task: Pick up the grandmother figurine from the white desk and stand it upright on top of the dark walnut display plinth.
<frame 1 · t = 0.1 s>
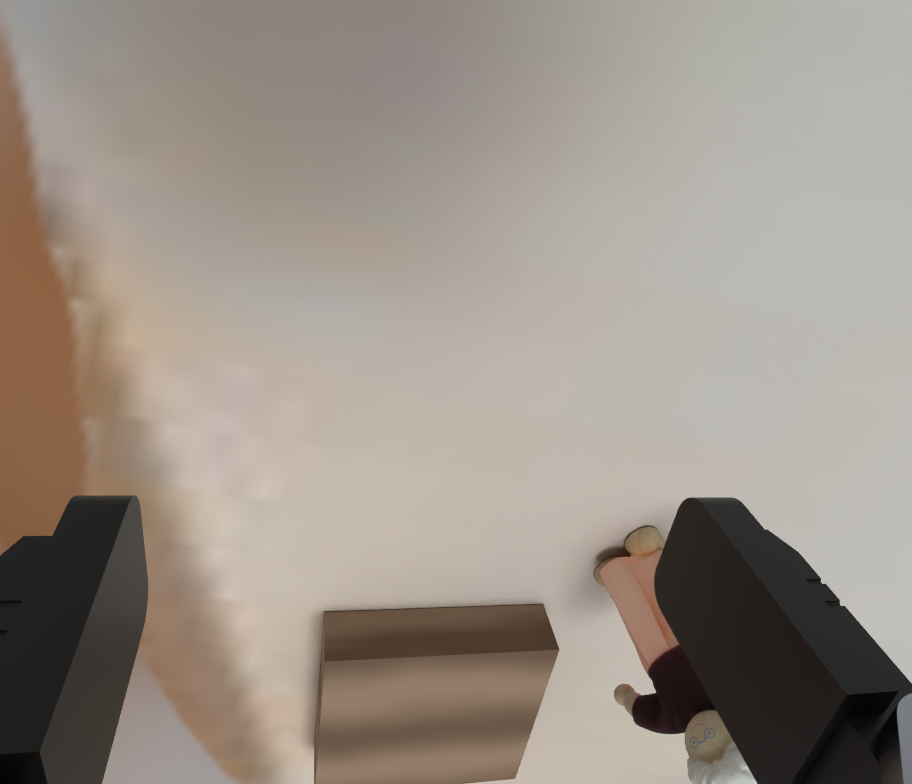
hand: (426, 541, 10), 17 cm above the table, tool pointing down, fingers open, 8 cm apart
grandmother figurine: (622, 561, 38), on the table
walnut plinth: (423, 678, 40), on the table
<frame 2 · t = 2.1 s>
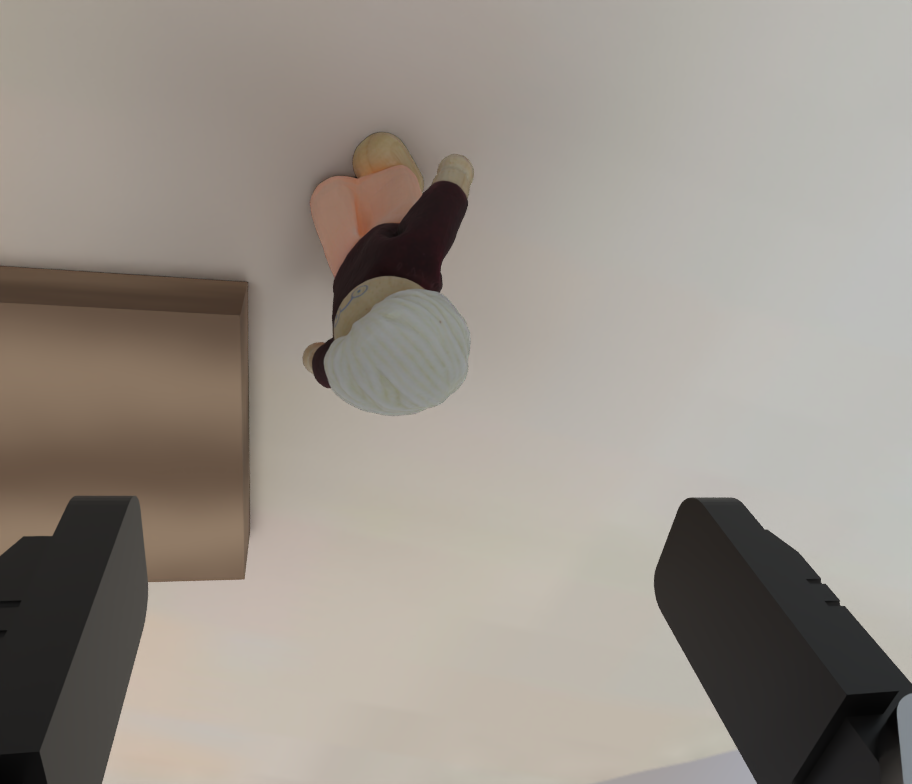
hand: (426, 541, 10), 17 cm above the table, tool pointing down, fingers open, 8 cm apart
grandmother figurine: (362, 209, 25), on the table
walnut plinth: (89, 415, 27), on the table
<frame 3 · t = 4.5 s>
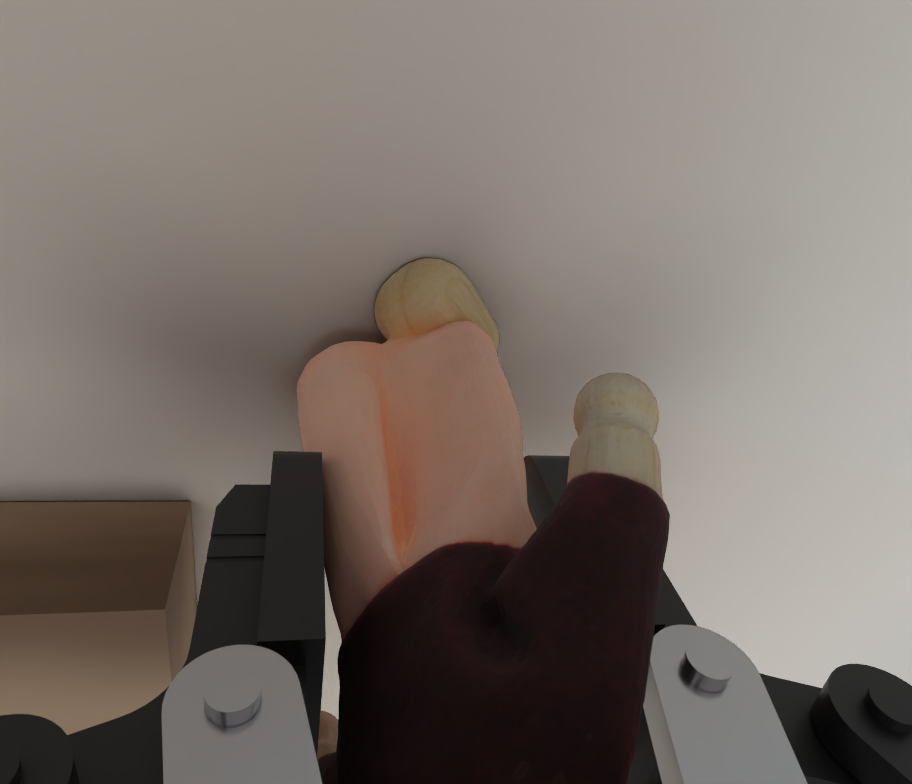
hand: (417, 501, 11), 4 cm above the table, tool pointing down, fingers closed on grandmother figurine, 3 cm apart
grandmother figurine: (389, 380, 14), on the table, touching gripper
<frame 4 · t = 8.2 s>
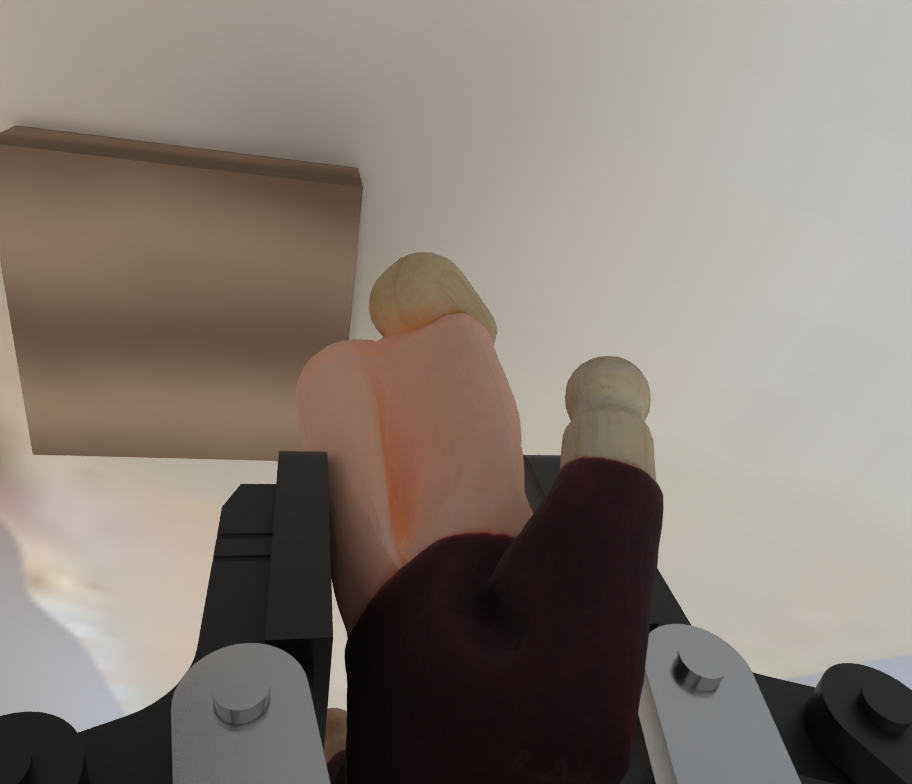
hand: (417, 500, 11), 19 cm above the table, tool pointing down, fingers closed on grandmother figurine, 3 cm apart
grandmother figurine: (389, 377, 14), point 15 cm above the table, touching gripper
walnut plinth: (199, 297, 28), on the table
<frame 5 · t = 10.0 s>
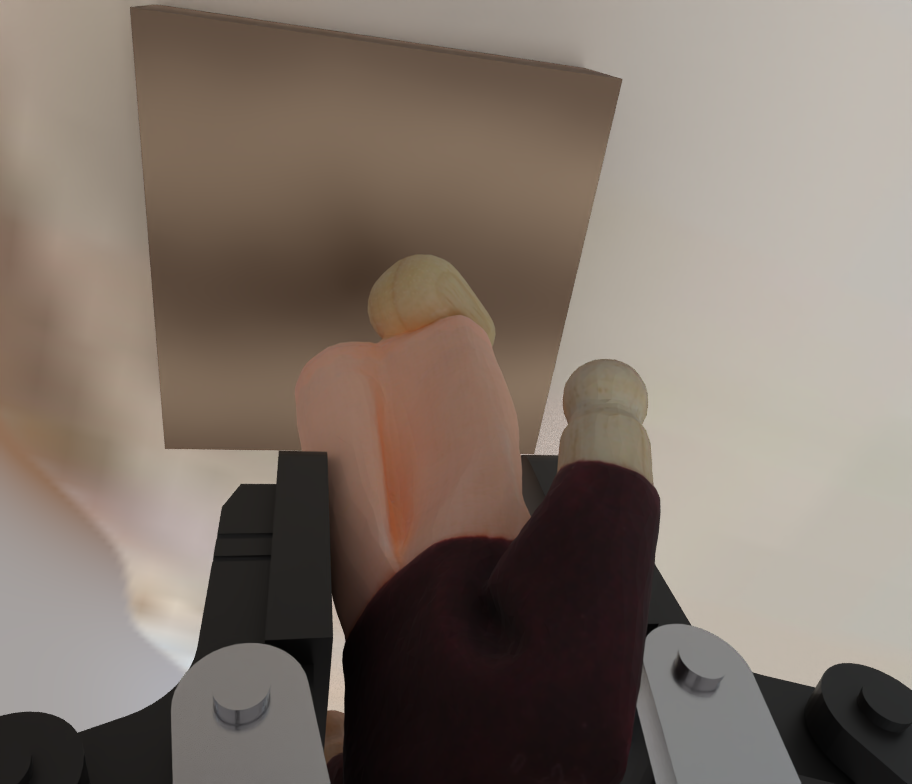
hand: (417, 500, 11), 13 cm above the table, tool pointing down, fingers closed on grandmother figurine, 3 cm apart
grandmother figurine: (388, 379, 14), point 9 cm above the table, touching gripper
walnut plinth: (368, 245, 22), on the table
when the fingers open (8 cm above the table, at t = 11.7 s): grandmother figurine stays where it is, resting on walnut plinth.
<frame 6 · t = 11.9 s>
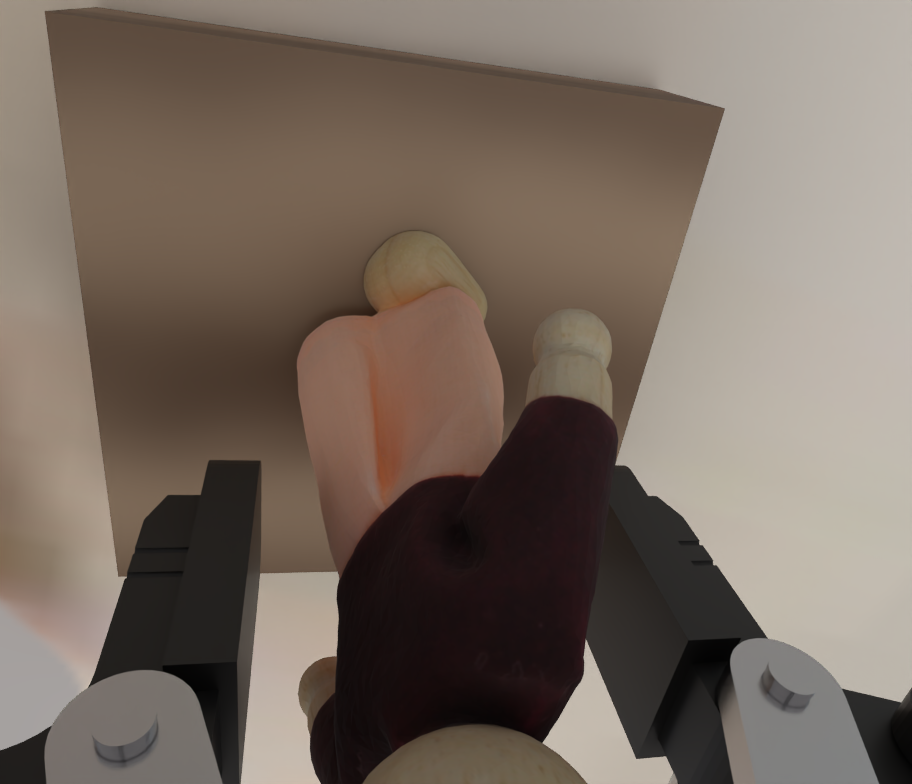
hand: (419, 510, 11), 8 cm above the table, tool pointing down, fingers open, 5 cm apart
grandmother figurine: (387, 353, 15), point 3 cm above the table, touching walnut plinth
walnut plinth: (379, 311, 17), on the table
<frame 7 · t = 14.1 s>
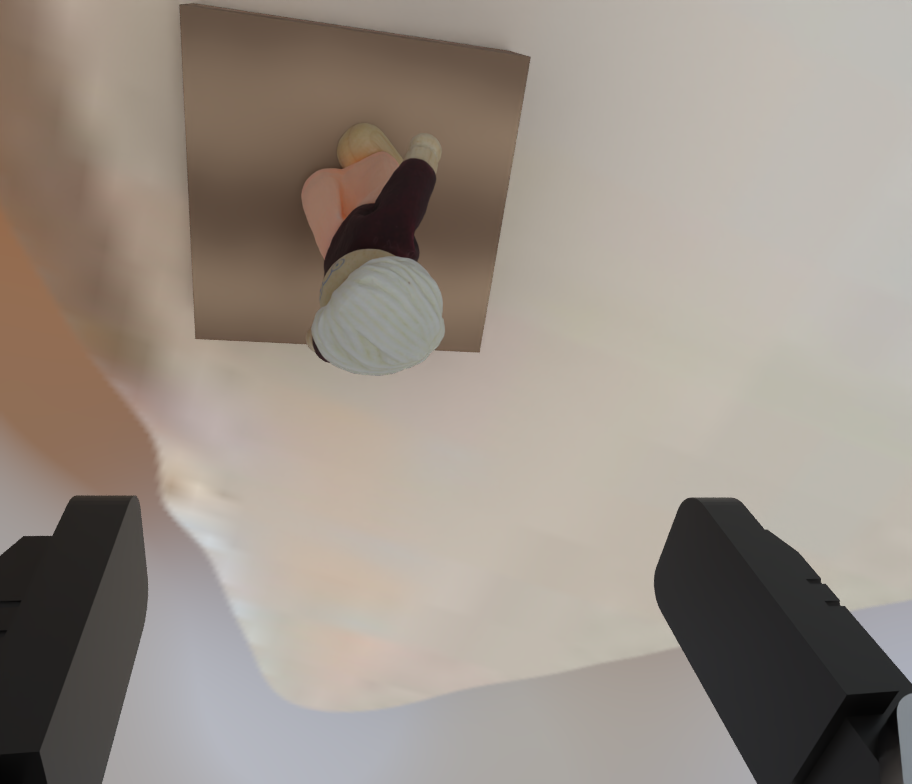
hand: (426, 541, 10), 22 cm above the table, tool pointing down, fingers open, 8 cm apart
grandmother figurine: (351, 198, 26), point 3 cm above the table, touching walnut plinth
walnut plinth: (349, 187, 29), on the table
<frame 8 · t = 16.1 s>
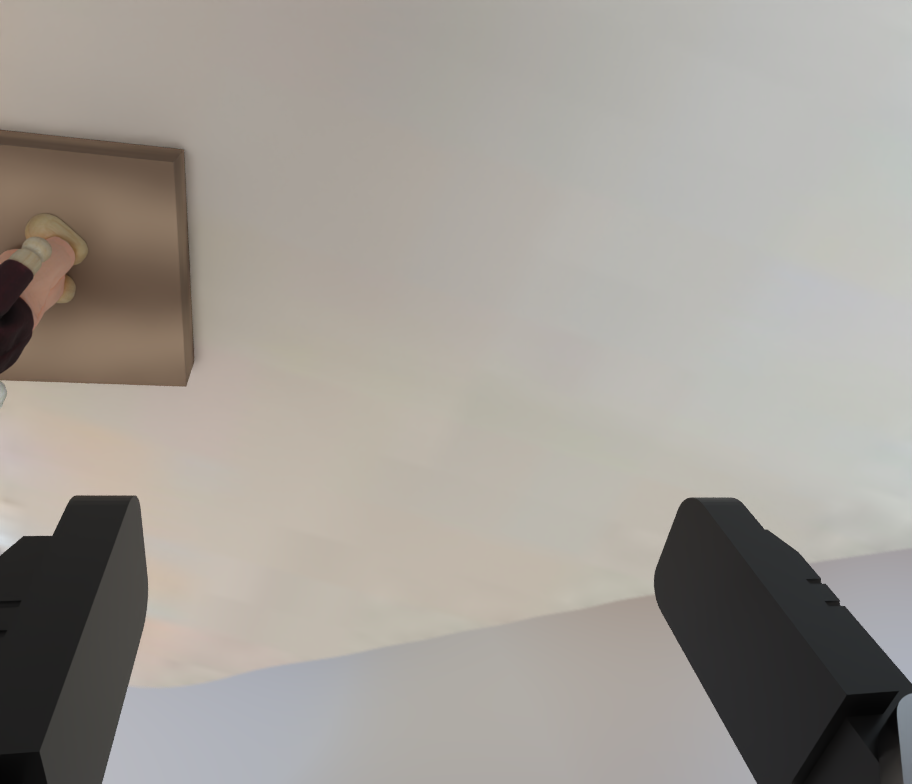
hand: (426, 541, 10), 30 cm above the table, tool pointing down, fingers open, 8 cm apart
grandmother figurine: (48, 268, 33), point 3 cm above the table, touching walnut plinth
walnut plinth: (68, 254, 36), on the table
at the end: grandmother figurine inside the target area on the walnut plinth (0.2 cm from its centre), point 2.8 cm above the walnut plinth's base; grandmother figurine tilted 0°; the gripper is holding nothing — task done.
